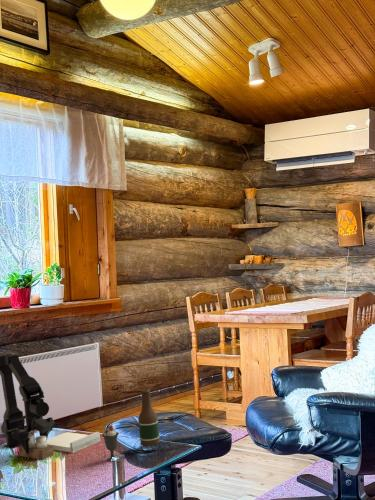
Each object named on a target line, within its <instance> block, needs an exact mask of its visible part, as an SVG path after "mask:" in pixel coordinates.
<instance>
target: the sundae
mask: <svg viewBox="0 0 375 500" xmlns="http://www.w3.org/2000/svg"><path fill="white" fill-rule="evenodd" d="M113 424H114V422H111V423H110V425H109V426H108V427H105V430H104V433H102V434H101V437H102V438H103V439H104V442H105V444H104V445H105V448H106V449H107V450H108V451H109V452H110V457H108V458H106V461H107V462H110V461H111V459H112V457H116V456H115V453H114V451H115V450H116V449H117V447H118V446H117V445H118V436H119V435H120V432H117V431H116V430H115V428H114V427H113V426H114V425H113ZM110 463H111V462H110Z"/></svg>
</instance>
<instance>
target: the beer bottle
mask: <svg viewBox="0 0 375 500" xmlns="http://www.w3.org/2000/svg"><path fill="white" fill-rule="evenodd" d="M140 394H141V411H140V412H139V415H138V429H139V431H138V432H139V440H140V446H141V445H143V446H151V445H154V444H158V443H159V442H160V443H161V438H160V430H159V429H160V428H159V427H160V425H159V419H158V415H157V413H156V411H155V410H154V409H153V406H152V399H151V391H150V389H148V388H144V389H141V390H140Z"/></svg>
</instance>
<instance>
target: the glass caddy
mask: <svg viewBox="0 0 375 500" xmlns="http://www.w3.org/2000/svg"><path fill="white" fill-rule="evenodd" d="M28 438H30V439H29V441H28V443H29V454H27V453H26V451H25V450H24V448H23V447H22V445H20V446H18V454H19V455H18V456H20V457H23V458H24V457H25V458H29V457H31V458H30V459H35V458H36V459H37V460H46V459H48V458H50V457H53V456H55V452H54V451H55V450H53V446H51V445H47V440H48V438H47V439H46V436H40V435H39V436H36V437H35V434H33V433H30V434H29V436H28Z"/></svg>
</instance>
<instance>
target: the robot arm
mask: <svg viewBox="0 0 375 500" xmlns="http://www.w3.org/2000/svg"><path fill="white" fill-rule="evenodd" d="M13 375H14V377H15V379H16V381H17V382H18V384H19V386H18V390H19V394H20V395H21V398H22V399H21V401H22V402H23V406H24V413H23V410H20V408H19V407H18V402H17V401H18V400H17V396H16V390H15V389H16V388H15V382H14V377H13ZM0 378H1V384H2V392H3V399H4V403H5V404H4V405H5V410H4V413H3V416H2V417H3V421H2V424H1V427H0V430H1V433H2V434H4V435H5V440H6V444H4V445H3V447H6V448H11V449H15V448H18V447H19V446H22V447H23V448H24V450H25V451H26V453H27V454H29V443H28V441H29V439H30V438H28V436H29V434H33V433H35V432H38V433H39V436H46V439H47V440H48V438H49V434H50V433H51V431H53V430H54V428H56V422H55V420H54V419H53V417H51V416H50V417H47V418H44V417H46V416H47V415H48V413H49V412H50V406H49V404H48V403H47V402H46V401H44V400H45V399H44V398H45V395H44V391H43V389H42V387H41V386H40V383H39V382H38V381H37V380H36V379H35V377H32V376H30V375H29V373H28V372H27V370H26V369H25V367H24V365H23V364H22V362H21V360H20V357H19V355H18V354H15V353H14V354H11V353H5V354H4V353H3V354H0Z"/></svg>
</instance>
